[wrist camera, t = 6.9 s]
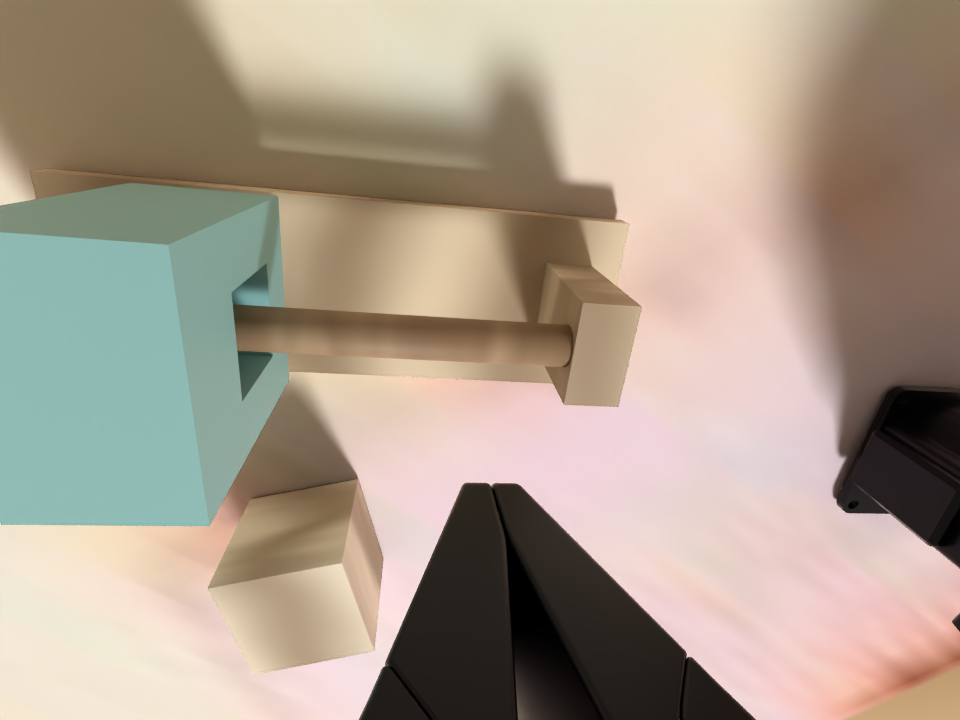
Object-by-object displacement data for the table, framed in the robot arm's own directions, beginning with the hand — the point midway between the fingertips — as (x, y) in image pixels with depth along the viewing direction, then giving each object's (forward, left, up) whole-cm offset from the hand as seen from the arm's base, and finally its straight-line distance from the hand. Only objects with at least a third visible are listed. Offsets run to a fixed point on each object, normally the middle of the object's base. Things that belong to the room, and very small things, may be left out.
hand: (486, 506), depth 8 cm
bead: (+7, 0, -10) cm, 12 cm away
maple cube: (+5, +11, -12) cm, 17 cm away
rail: (+3, 0, -11) cm, 12 cm away
